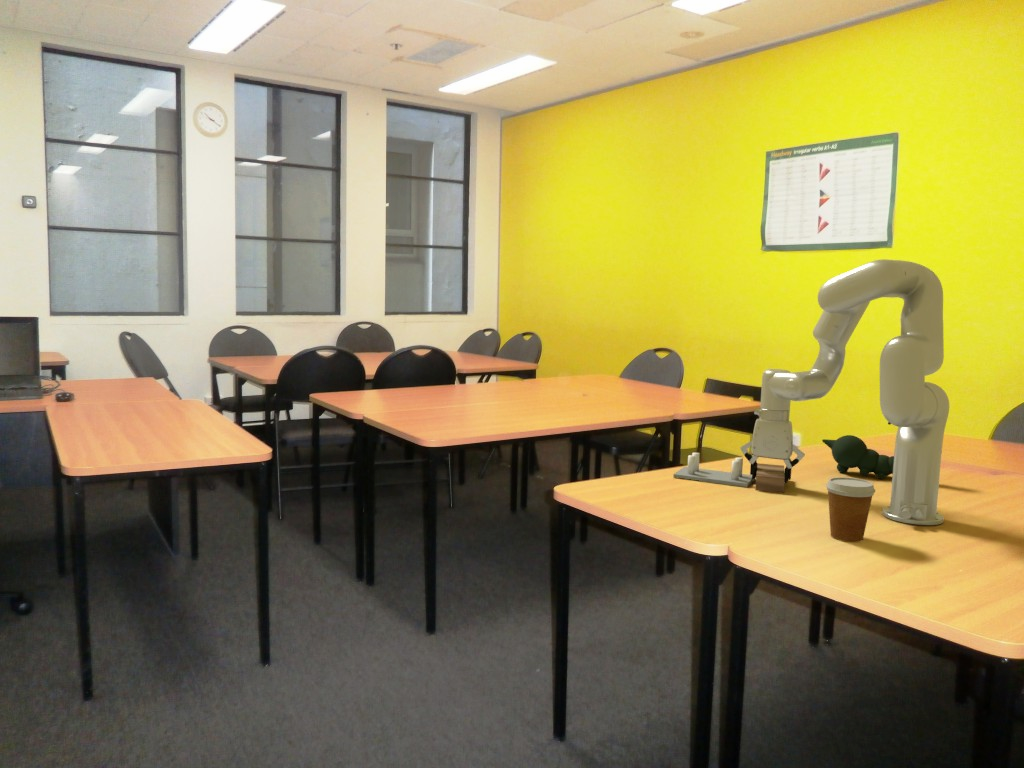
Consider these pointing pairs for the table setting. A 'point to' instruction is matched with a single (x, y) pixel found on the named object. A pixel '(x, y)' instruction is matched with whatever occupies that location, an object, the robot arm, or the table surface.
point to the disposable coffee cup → (849, 507)
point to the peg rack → (715, 473)
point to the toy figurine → (859, 456)
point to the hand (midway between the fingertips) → (770, 479)
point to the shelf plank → (770, 478)
